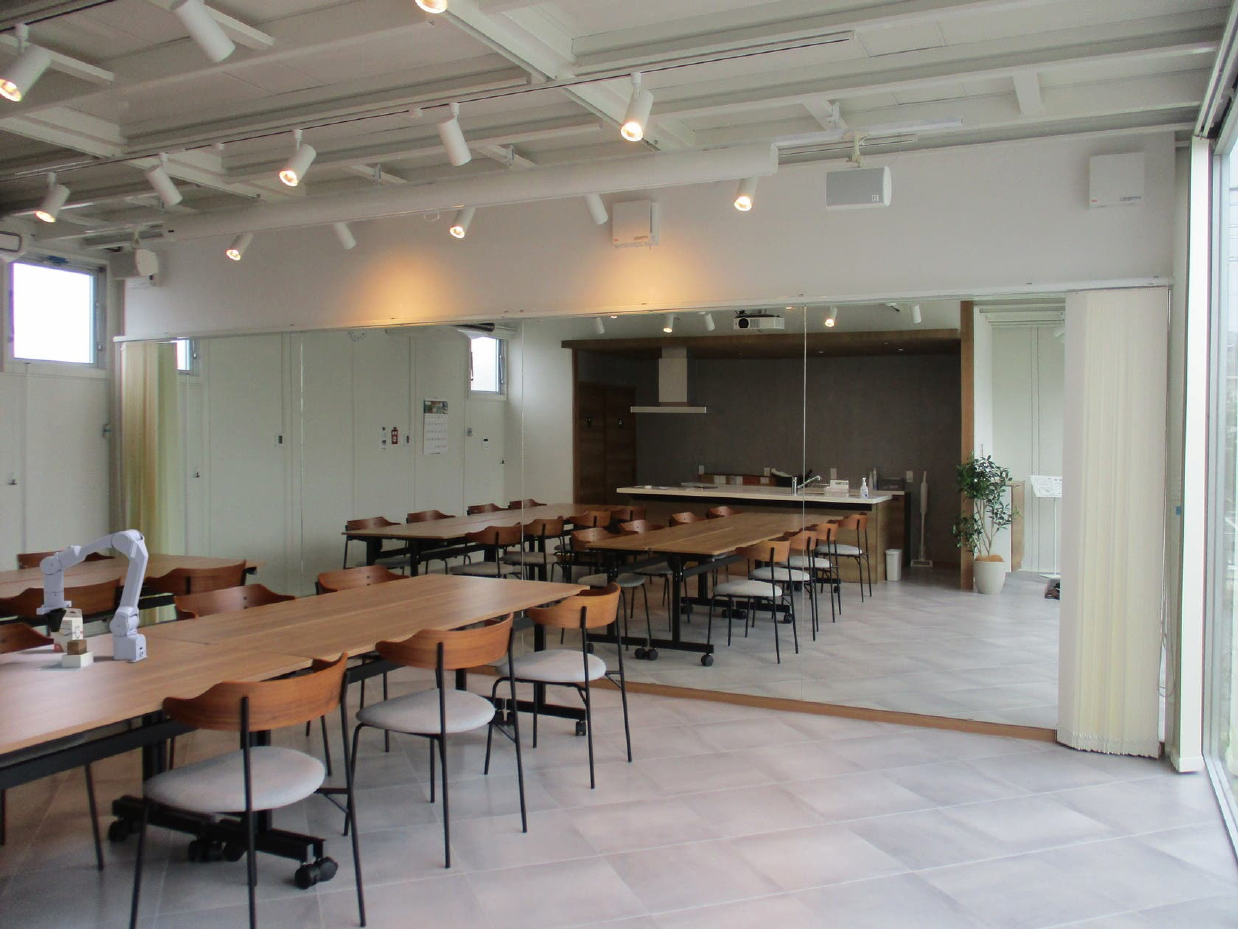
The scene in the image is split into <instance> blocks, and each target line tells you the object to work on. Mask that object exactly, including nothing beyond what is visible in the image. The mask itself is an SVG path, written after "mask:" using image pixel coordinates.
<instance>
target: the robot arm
mask: <svg viewBox="0 0 1238 929" xmlns="http://www.w3.org/2000/svg"><path fill="white" fill-rule="evenodd" d="M106 548H109V549H112V548H114V549H116V550H117V551H118V552H121V553H122V554H124V555H125V556H126V557H127V559H128V560H129V565H128V568H127V573H126V576H125V582H124V586H123V590H122V594H121V598H120V602H119V606H118V608H117V609H116V611H115V613H114V616H113V618H112V619H111V621H110V622H109V624H108V625H109V630H110V632H111V633H112V643H113V644H112V645H113V646H112V648H113V651H112V652H113V659H114V660H116V661H120V660H121V661H122V660H123V661H124V660H127V661H126V663H136V662H138V661H141V660H143V659H146V658H148V655H147V639H146V636H145V635H144V634H142V633H138V630H137V628H138V627H139V625H140V621H141V620H140V617H139V613H140V609H139V608H138V604H139V600H140V594H141V591H142V586H143V582H144V577H145V575H146V574H145V573H146V569H147V565H148V561H149V560H148V559H149V553H148V550H147V549H148V548H147V546H146V544H145V536H144V535H142V533H141V532H140V531H139V530H138V529H136V528H135V529H133V528H130V529H127V530H123V531H118V532H115V533H111V534H107V535H104V536H103V537H100V538H98V539H96V540H93V541H91V542H89V543H87V544H86V545H83V546H80V545H69V546H67V549H64V550H62V551H60V552H59V551H57V552H54V553H53V555H52V556H46V557H45V558H43V559H42V560H41V561H40V562H39V569H40V571H41V572H42V573H43V575H42V576H43V604H42V605H41V606H40V607H38V608H36V615H42V616H43V617H44V619H45V620H46V623H47V624H48V627H49V630H50V633H54V632H59V630H60V626H61V623H62V620H63V617H64V615H65V614H66V610H65V609H64V608H71V607H72V600H65V591H64V590H65V589H64V588H65V587H64V586H65V584H64V571H65V570H66V569H68V568H69V567H70V568H71V567H72V566H75V565H77V564H79V563H81V562H83V561H85V559H86V557H87V556H88V555H91V554H93V553H95V552H98V551H101V550H103V549H106Z"/></svg>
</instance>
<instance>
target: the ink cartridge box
mask: <svg viewBox="0 0 1238 929" xmlns="http://www.w3.org/2000/svg"><path fill="white" fill-rule="evenodd" d="M63 609H65V610H66V614H65V615H64V617H63V620H62V623H61V626H60V630H59V632H53V651H54V652H61V653H63V652H64V653H67V642H68V641H72V640H75V639H84V632H83V631H84V627H83V626H84V625H83V615H82V609H80V608H71V607H66V608H63ZM72 612H73V613H72Z"/></svg>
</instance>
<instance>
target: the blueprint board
mask: <svg viewBox="0 0 1238 929" xmlns="http://www.w3.org/2000/svg"><path fill="white" fill-rule="evenodd" d="M95 664H98V662H95V661H94V651H93V650H91V651H89V650H87V653H85V654H82V655H67V653H66V654H63V655H61V662H60V661H59V662H58V661H57V662H54V663H51V664H48V665H45V666H43V667H41V668H38V669H35V670H34V672H35V671H38V672H39V671H40V672H42V671H43V672H47V671H49V672H50V671H51V672H52V671H53V672H54V671H56V672H58V671H59V672H67V671H68V672H69V671H70V672H75V671H80V670H81V669H85V668H87V667H90V666H93V665H95Z"/></svg>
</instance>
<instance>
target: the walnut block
mask: <svg viewBox="0 0 1238 929" xmlns="http://www.w3.org/2000/svg"><path fill="white" fill-rule="evenodd" d="M87 640H88V639H86V638H85V639H84V638H83V639H75V640H72V641H68V642H67V652H66V654H67V655H82V654H85V653H87V651H88V647H87V646H88V644H87V643H88V641H87Z"/></svg>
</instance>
